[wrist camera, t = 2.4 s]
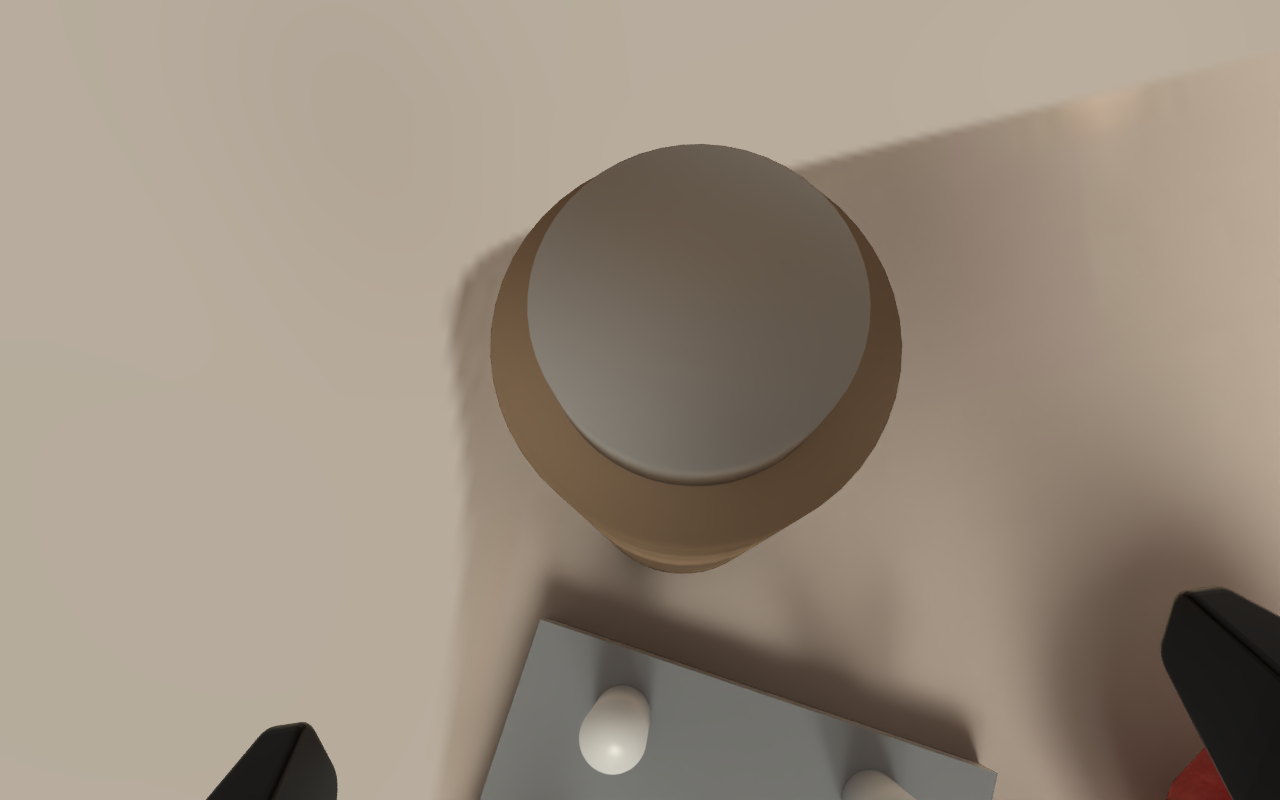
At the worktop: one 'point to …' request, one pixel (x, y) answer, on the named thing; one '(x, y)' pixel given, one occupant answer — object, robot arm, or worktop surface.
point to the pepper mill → (695, 352)
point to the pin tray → (694, 737)
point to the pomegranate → (1199, 781)
